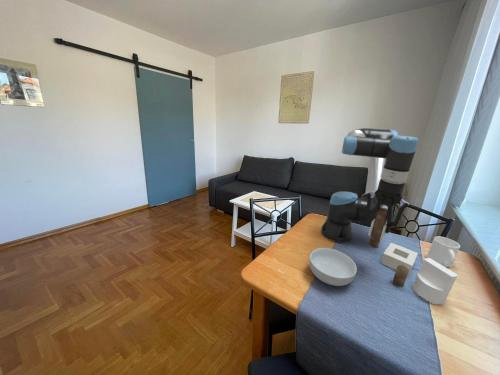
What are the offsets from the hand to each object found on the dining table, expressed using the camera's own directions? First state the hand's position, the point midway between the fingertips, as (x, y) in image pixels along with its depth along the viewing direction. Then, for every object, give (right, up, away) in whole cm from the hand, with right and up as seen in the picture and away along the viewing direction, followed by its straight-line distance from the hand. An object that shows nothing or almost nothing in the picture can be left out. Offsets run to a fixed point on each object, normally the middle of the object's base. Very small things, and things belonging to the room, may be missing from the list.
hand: (375, 236), depth 80 cm
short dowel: (+6, -17, -4) cm, 18 cm away
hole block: (+14, -13, +8) cm, 21 cm away
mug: (+33, -14, +8) cm, 37 cm away
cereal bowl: (-19, -15, -1) cm, 24 cm away
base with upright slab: (+14, -19, -7) cm, 25 cm away
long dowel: (0, -4, +1) cm, 4 cm away
